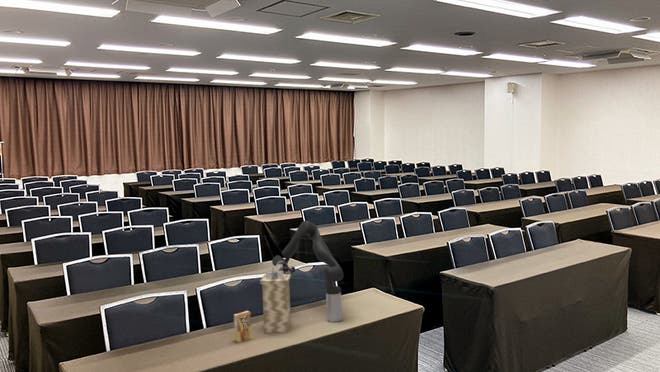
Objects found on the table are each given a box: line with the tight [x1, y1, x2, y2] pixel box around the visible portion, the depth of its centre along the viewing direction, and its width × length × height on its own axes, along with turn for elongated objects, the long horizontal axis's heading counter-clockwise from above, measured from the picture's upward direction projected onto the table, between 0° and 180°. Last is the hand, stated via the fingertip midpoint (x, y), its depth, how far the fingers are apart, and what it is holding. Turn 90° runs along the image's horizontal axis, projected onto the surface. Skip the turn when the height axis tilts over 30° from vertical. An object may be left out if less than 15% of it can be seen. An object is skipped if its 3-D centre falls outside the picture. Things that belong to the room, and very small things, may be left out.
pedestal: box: [259, 273, 292, 334], centre depth 299 cm, size 16×14×31 cm
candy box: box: [233, 310, 253, 343], centre depth 285 cm, size 9×4×15 cm, turn 129°
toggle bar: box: [265, 264, 284, 279], centre depth 304 cm, size 20×10×4 cm, turn 176°
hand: (284, 272), depth 313 cm, fingers open, 8 cm apart
